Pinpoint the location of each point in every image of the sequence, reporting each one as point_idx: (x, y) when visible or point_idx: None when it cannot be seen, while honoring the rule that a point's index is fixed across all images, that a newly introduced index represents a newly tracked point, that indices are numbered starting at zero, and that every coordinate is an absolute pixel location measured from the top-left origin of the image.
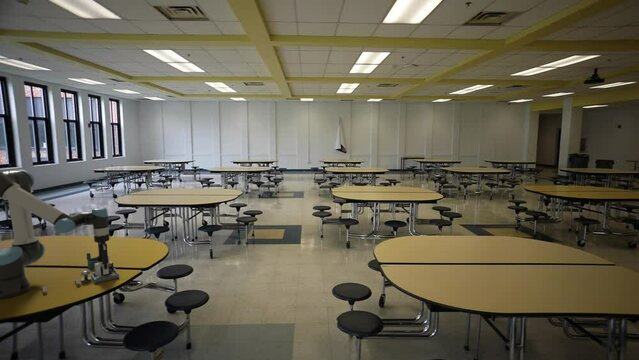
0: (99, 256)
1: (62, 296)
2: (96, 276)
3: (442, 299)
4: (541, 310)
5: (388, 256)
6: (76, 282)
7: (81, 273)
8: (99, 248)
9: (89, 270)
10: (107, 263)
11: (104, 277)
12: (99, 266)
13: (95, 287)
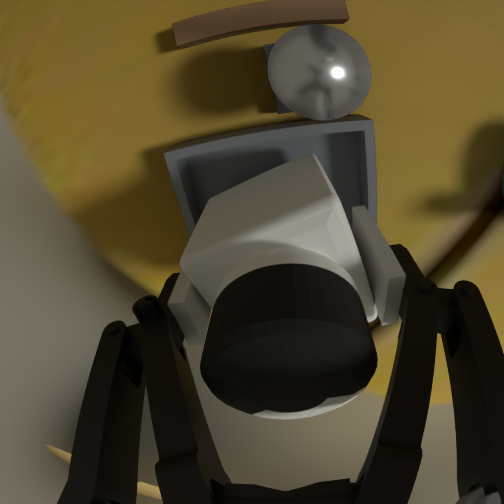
0: (248, 363)
1: (60, 3)
2: (333, 153)
3: (58, 449)
4: (49, 449)
5: (157, 487)
6: (221, 10)
7: (288, 33)
8: (352, 500)
9: (324, 113)
10: (186, 336)
11: (186, 224)
12: (194, 251)
13: (108, 159)
